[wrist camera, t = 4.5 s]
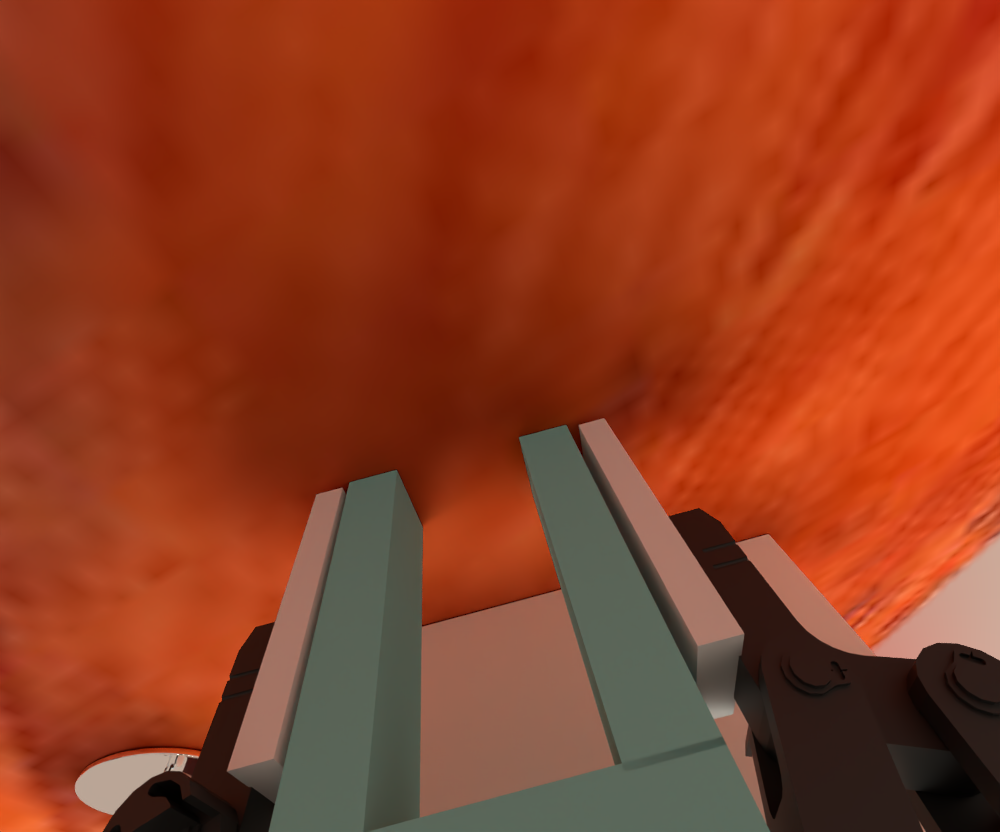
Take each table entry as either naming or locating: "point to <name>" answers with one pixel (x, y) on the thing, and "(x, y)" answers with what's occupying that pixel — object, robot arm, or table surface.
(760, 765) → the robot arm
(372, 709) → the teal u-shaped bracket
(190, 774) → the wineglass
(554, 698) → the white c-frame
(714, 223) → the table surface
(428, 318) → the table surface
